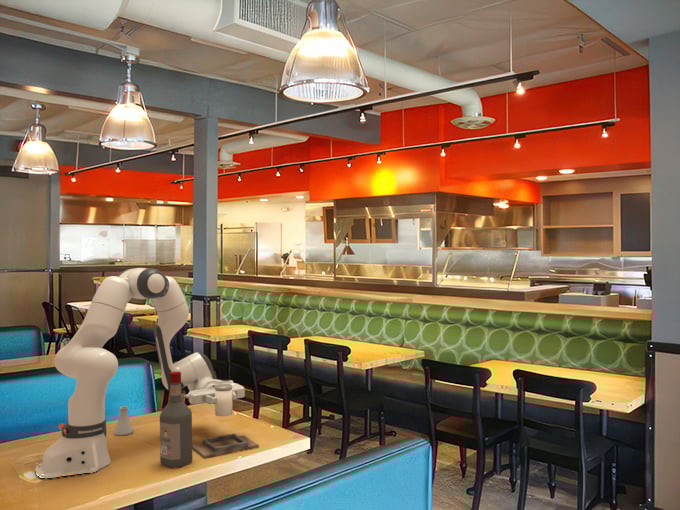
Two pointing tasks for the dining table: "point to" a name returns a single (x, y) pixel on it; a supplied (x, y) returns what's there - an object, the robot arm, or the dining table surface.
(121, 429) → the flask
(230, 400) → the spice jar
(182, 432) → the liquor
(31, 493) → the dining table surface
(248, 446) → the locating board
